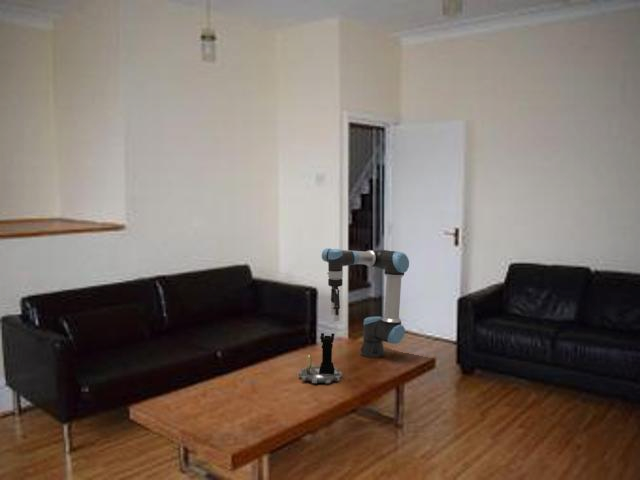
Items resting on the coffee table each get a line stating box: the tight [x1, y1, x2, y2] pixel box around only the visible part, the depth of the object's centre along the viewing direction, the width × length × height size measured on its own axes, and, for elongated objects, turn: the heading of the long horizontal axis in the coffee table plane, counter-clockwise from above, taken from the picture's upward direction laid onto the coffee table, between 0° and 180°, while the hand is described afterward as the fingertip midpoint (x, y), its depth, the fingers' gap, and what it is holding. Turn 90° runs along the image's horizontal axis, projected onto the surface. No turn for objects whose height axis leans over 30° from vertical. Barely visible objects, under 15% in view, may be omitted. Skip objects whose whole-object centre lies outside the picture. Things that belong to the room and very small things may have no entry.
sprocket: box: [298, 354, 343, 384], centre depth 309 cm, size 23×23×12 cm
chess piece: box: [319, 332, 336, 374], centre depth 309 cm, size 8×8×20 cm
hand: (335, 317), depth 308 cm, fingers open, 13 cm apart
